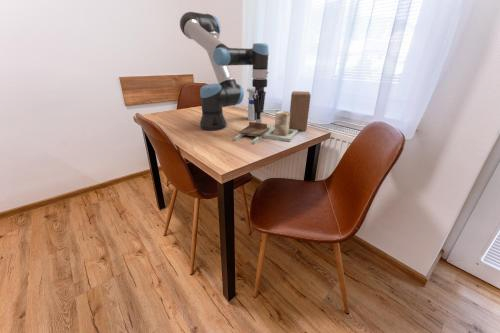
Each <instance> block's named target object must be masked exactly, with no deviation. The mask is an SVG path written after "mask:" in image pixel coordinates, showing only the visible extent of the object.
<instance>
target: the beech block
mask: <svg viewBox="0 0 500 333" xmlns="http://www.w3.org/2000/svg"><path fill="white" fill-rule="evenodd" d="M289 123H290V111H285V110H284V111H283V110H278V111H277V112H276V113H275V117H274V127H275V132H274V133H273V135H279V136H286V137H288V136H289V135H290V133H289Z"/></svg>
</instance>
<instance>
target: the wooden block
mask: <svg viewBox="0 0 500 333" xmlns="http://www.w3.org/2000/svg"><path fill="white" fill-rule="evenodd" d="M310 103H311V93H310V91H296V90H293V91H292V92H291V95H290V106H289V107H290V109H289V112H290V123H289V129H294V130H298V131H300V130H301V131H302V132H303V131H304V132H305V131H307V129H308V128H307V127H308V119H309V111H310Z"/></svg>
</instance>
